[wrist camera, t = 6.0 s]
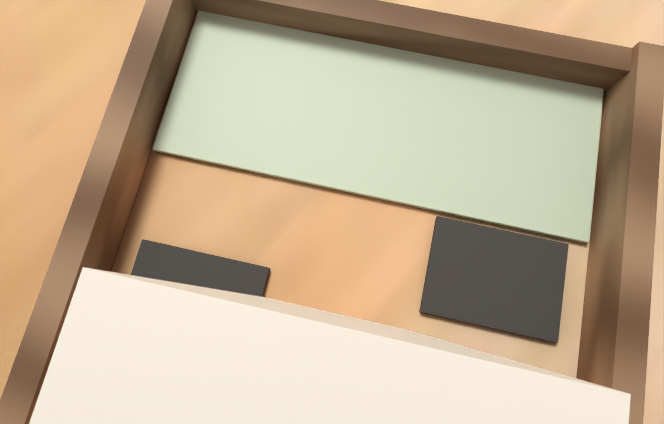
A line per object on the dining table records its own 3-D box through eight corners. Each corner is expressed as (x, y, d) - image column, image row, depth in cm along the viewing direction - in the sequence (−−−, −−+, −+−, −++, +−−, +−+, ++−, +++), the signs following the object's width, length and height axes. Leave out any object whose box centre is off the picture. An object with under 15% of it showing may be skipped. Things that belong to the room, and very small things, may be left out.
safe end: (585, 243, 20) (588, 241, 20) (154, 151, 21) (152, 148, 21) (600, 91, 22) (603, 88, 22) (200, 14, 23) (198, 10, 23)
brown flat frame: (580, 689, 17) (622, 753, 14) (-6, 529, 18) (-60, 564, 15) (630, 75, 22) (666, 46, 20) (181, -10, 24) (163, -48, 21)
